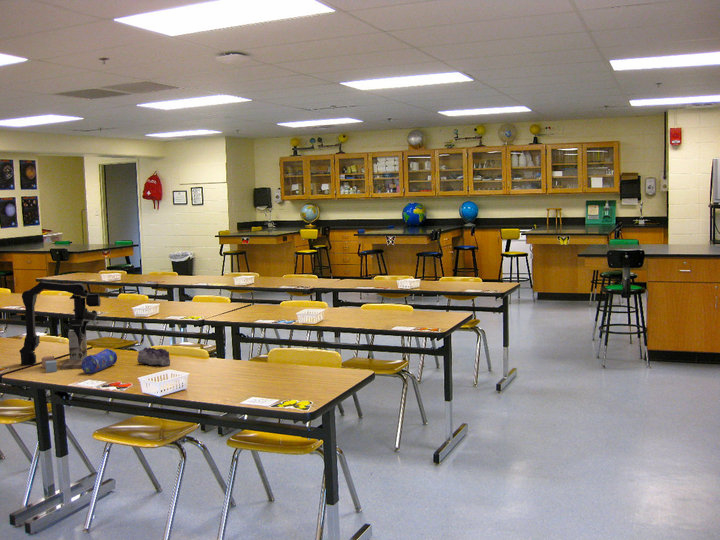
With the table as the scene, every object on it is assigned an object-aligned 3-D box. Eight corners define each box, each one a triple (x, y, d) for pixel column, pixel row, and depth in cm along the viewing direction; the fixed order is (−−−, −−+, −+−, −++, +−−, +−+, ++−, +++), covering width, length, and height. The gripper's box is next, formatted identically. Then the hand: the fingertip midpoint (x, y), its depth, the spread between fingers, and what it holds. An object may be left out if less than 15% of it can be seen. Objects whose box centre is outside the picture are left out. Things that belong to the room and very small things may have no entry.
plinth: (60, 369, 352) (60, 365, 351) (65, 364, 363) (65, 360, 363) (85, 368, 354) (84, 364, 354) (89, 363, 366) (89, 359, 365)
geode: (178, 363, 364) (176, 345, 362) (163, 371, 354) (161, 352, 352) (149, 358, 373) (148, 341, 371) (134, 365, 364) (132, 347, 361)
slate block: (46, 372, 345) (45, 363, 345) (46, 370, 349) (45, 361, 349) (56, 371, 347) (56, 362, 347) (56, 369, 352) (56, 360, 351)
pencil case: (95, 374, 340) (94, 356, 339) (79, 374, 341) (79, 355, 341) (118, 365, 361) (118, 347, 361) (103, 364, 363) (103, 346, 362)
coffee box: (80, 360, 371) (79, 331, 370) (69, 361, 371) (67, 331, 370) (88, 357, 380) (86, 328, 379) (76, 357, 380) (74, 328, 379)
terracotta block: (42, 367, 356) (41, 358, 356) (44, 365, 361) (44, 356, 360) (52, 367, 357) (51, 358, 357) (54, 365, 362) (54, 356, 361)
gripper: (90, 309, 358) (91, 338, 360) (100, 304, 377) (101, 332, 378) (68, 309, 357) (69, 339, 358) (79, 304, 376) (80, 332, 377)
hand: (81, 335), depth 368 cm, fingers open, 9 cm apart
